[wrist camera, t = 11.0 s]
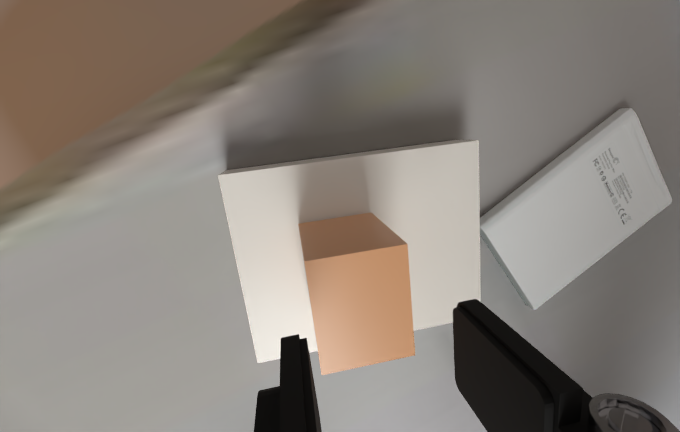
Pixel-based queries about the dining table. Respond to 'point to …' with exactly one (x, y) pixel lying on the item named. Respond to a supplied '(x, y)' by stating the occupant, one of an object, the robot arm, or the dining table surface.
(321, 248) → the plug
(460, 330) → the robot arm
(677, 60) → the dining table surface
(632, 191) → the external hard drive
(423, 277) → the socket
